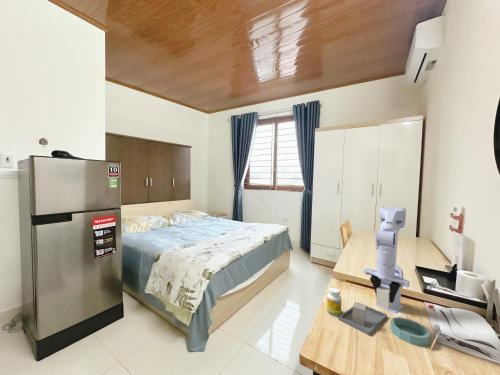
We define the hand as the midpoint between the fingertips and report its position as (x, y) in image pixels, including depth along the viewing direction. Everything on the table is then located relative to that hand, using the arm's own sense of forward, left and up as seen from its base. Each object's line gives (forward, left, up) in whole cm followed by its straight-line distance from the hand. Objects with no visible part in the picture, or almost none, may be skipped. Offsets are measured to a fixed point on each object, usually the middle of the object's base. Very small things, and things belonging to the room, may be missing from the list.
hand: (384, 299), depth 80 cm
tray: (+3, -6, -9) cm, 12 cm away
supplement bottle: (+9, -15, -10) cm, 20 cm away
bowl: (0, +8, -9) cm, 12 cm away
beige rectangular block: (0, 0, -2) cm, 2 cm away
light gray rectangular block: (+7, -6, -9) cm, 13 cm away
